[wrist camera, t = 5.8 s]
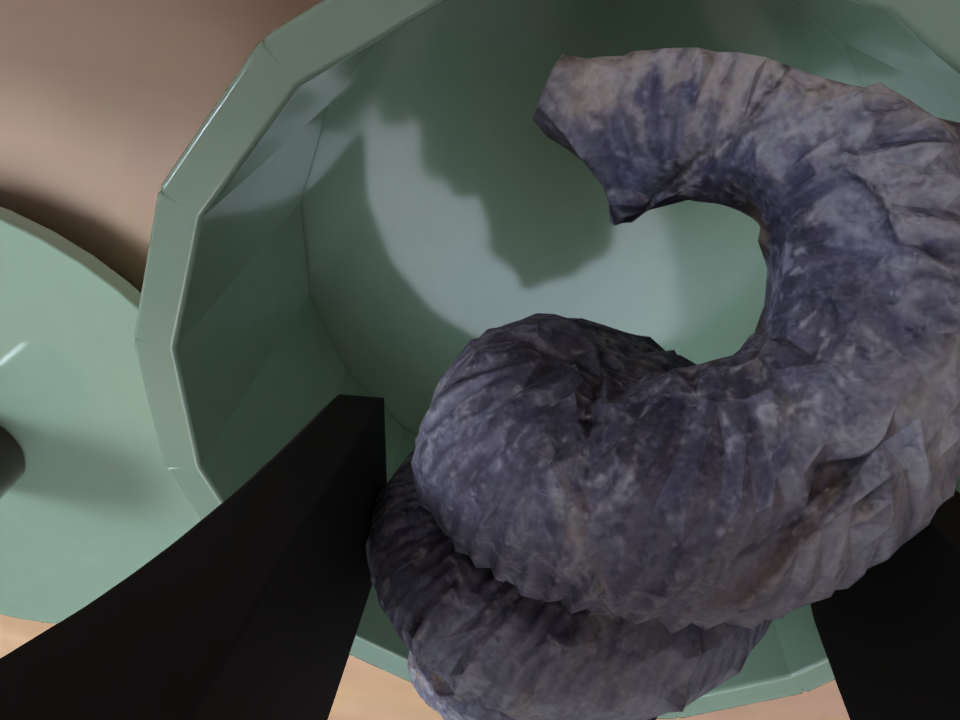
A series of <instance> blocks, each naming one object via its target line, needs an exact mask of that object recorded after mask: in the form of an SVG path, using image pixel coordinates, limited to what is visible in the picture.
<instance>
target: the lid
mask: <svg viewBox="0 0 960 720" xmlns="http://www.w3.org/2000/svg"><path fill="white" fill-rule="evenodd" d="M140 297H141V292H139V291H138V290H137V289H136V288H135V287H134V286H133V285H132V284H131V283H130V282H128V281H127V280H126V279H124V278H123V277H122V276H120V275H119V274H118V273H116V272H115V271H114V270H112V269H111V268H110V267H108V266H107V265H106V264H104V263H103V262H102V261H100V260H99V259H97V258H96V257H95V256H93V255H92V254H90V253H89V252H87V251H85V250H84V249H82V248H80V247H79V246H77V245H76V244H74V243H72V242H71V241H69V240H67V239H66V238H64V237H62V236H61V235H59V234H58V233H56V232H54V231H52V230H50V229H48V228H46V227H44V226H42V225H40V224H38V223H36V222H34V221H32V220H30V219H28V218H26V217H24V216H22V215H20V214H18V213H15V212H13V211H11V210H9V209H6V208H3V207H1V206H0V614H2V615H6V616H11V617H15V618H20V619H25V620H32V621H39V622H46V623H57V624H58V623H59V622H61V621H63V620H64V619H66V618H67V617H69V616H71V615H72V614H74V613H76V612H77V611H79V610H80V609H82V608H84V607H85V606H87V605H88V604H90V603H91V602H93V601H94V600H96V599H97V598H99V597H100V596H101V595H103V594H104V593H106V592H107V591H109V590H110V589H111V588H113V587H114V586H116V585H117V584H119V583H120V582H121V581H123V580H124V579H126V578H127V577H129V576H130V575H131V574H133V573H134V572H136V571H137V570H138V569H140V568H141V567H142V566H144V565H145V564H146V563H148V562H149V561H150V560H152V559H153V558H154V557H156V556H157V555H158V554H160V553H161V552H162V551H164V550H165V549H166V548H168V547H169V546H170V545H171V544H173V543H174V542H175V541H177V540H178V539H179V538H180V537H181V536H183V535H184V534H185V533H186V532H187V531H189V530H190V529H191V528H192V527H194V526H195V525H196V524H197V523H198V522H200V521H201V519H200V518H199V516H198V515H197V513H196V512H195V510H194V509H193V508H192V506H191V505H190V503H189V502H188V500H187V499H186V497H185V496H184V494H183V493H182V491H181V490H180V489H179V487H178V486H177V484H176V483H175V481H174V480H173V478H172V477H171V475H170V474H169V472H168V471H167V467H166V466H165V465H164V462H163V458H162V454H161V450H160V446H159V442H158V437H157V433H156V429H155V425H154V421H153V417H152V413H151V409H150V405H149V401H148V397H147V393H146V389H145V385H144V381H143V377H142V373H141V369H140V365H139V361H138V357H137V353H136V349H135V345H134V341H135V337H134V332H135V326H136V321H137V315H138V309H139V303H140Z"/></svg>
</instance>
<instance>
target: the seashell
mask: <svg viewBox="0 0 960 720" xmlns="http://www.w3.org/2000/svg"><path fill="white" fill-rule="evenodd" d="M532 120H533V121H534V122H535V123H536V124H537V126H538V127H539V128H540V129H541V130H542V131H543V133H544V134H545V135H546V136H547V137H548V138H550V139H551V140H553V141H555V142H556V143H558V144H560V145H561V146H563V147H564V148H566V149H568V150H569V151H570V152H571V153H572V154H573V155H574V156H576V157H577V158H578V159H580V160H581V161H583V162H584V163H585V164H586V166H587V167H588V168H589V170H590V171H591V172H592V173H593V175H594V176H595V177H596V179H597V180H598V181H599V182H600V184H601V185H602V186H603V188H604V191H605V194H606V198H607V201H608V204H609V219H610V222H611V223H612V224H614V225H618V224H621V223H632V222H633V221H635V220H636V219H637V218H639V217H640V216H641V215H643V214H644V213H645V212H647V211H648V210H651V209H656V208H660V207H664V206H667V205H671V204H675V203H679V202H683V201H686V200H691V201H695V202H706V203H716V204H720V205H724V206H727V207H730V208H733V209H735V210H738V211H740V212H742V213H744V214H745V215H747V216H749V217H751V218H752V219H754V220H755V221H756V222H757V223H758V224H759V226H760V232H759V237H758V243H759V246H760V249H761V251H762V254H763V257H764V260H765V263H766V266H767V268H768V269H767V280H766V291H765V302H764V307H763V310H762V312H761V315H760V318H759V321H758V323H757V326H756V329H755V333H753V334H751V335H750V336H749V337H748V339H747V340H746V341H745V343H744V344H743V346H742V347H741V348H740V350H739V351H737V352H736V353H735V354H733V355H732V356H728V357H723V358H719V359H715V360H711V361H708V362H705V363H702V364H698V365H697V364H695V363H694V362H692V361H690V360H688V359H686V358H685V357H683V356H681V355H677V354H676V352H675V350H668V351H665V350H664V349H663V348H662V347H661V346H660V345H659V344H658V343H656V342H655V341H654V340H653V339H652V338H651V337H648V336H640V335H634V334H630V333H627V332H623V331H620V330H617V329H614V328H611V327H608V326H605V325H603V324H599V323H596V322H593V321H589V320H586V319H583V318H566V317H563V316H560V315H556V314H547V313H535V314H533V315H531V316H528V317H526V318H524V319H521V320H519V321H515V322H512V323H509V324H506V325H503V326H501V327H497V328H491V329H487V330H486V331H485V332H484V333H483V334H482V335H481V336H480V337H479V338H477V339H474V340H470V341H469V342H468V344H467V345H466V346H465V348H464V349H463V350H462V351H461V353H460V354H459V355H458V356H457V358H456V359H455V360H454V362H453V363H452V364H451V365H450V367H449V368H448V369H447V370H446V372H445V373H444V374H443V375H442V377H441V378H440V381H439V383H438V385H437V386H436V388H435V390H434V394H433V398H432V401H431V405H430V408H429V410H428V411H427V413H426V415H425V416H424V418H423V420H422V423H421V425H420V429H419V434H418V436H417V437H416V438H415V448H414V449H413V450H412V451H411V452H410V453H409V455H408V456H407V457H406V459H405V460H404V461H403V463H402V464H401V465H400V467H399V468H398V469H397V471H396V472H395V474H394V475H393V476H392V478H391V479H390V481H389V482H388V483H387V485H386V486H385V487H384V488H383V489H382V490H381V491H380V492H379V493H378V495H377V498H376V501H375V505H374V509H373V514H372V520H371V528H370V532H369V535H368V538H367V541H366V544H365V547H366V554H367V562H368V567H369V570H370V574H371V575H370V581H371V582H372V584H373V586H374V588H375V590H376V593H377V599H378V604H379V606H380V608H381V609H382V610H383V611H384V612H385V614H386V615H387V616H388V618H389V620H390V622H391V624H392V626H393V628H394V630H395V632H396V633H397V635H398V636H399V637H400V638H401V640H402V641H403V642H404V643H405V645H406V646H407V648H408V649H409V656H408V663H407V666H408V670H409V674H410V678H411V682H412V684H413V686H414V688H415V690H416V691H417V693H418V694H419V696H420V697H421V698H422V699H423V700H424V701H425V702H426V704H427V705H428V706H429V707H431V708H432V709H433V710H435V711H436V712H438V713H439V714H440V715H441V716H442V717H443V718H444V720H656V718H657V717H658V716H660V715H663V714H666V713H669V712H683V710H684V708H685V706H687V705H689V704H690V703H692V702H694V701H695V700H697V699H698V698H700V697H701V696H703V695H705V694H706V693H708V692H709V691H711V690H713V689H714V688H716V687H718V686H719V685H721V684H722V683H724V682H726V681H727V680H729V679H730V678H732V677H734V676H735V675H737V674H738V673H740V671H741V670H742V668H743V666H744V664H745V662H746V660H747V658H748V656H749V654H750V652H751V651H752V649H753V648H754V647H755V646H756V645H757V644H758V643H759V642H760V640H761V639H762V638H763V637H764V636H765V634H766V632H767V630H768V628H769V626H770V624H771V622H772V620H776V619H778V618H780V617H781V618H783V617H784V615H786V614H788V613H790V612H791V611H792V610H794V609H797V608H800V607H803V606H805V605H808V604H811V603H814V602H817V601H820V600H823V599H826V598H829V597H831V596H832V594H833V593H834V591H835V590H841V589H848V588H849V587H850V586H852V585H853V584H854V583H855V582H856V581H857V580H859V579H860V578H861V577H862V576H863V575H864V574H865V572H866V570H867V569H869V568H871V567H873V566H876V565H878V564H880V563H882V562H885V561H886V560H888V559H889V558H890V557H891V556H892V555H893V554H894V553H895V552H896V551H897V550H898V548H899V547H900V546H902V545H903V544H904V543H906V542H907V541H908V540H910V539H911V538H912V537H914V536H915V535H916V534H918V533H919V532H920V531H921V530H923V529H924V528H925V527H926V526H928V525H929V523H930V521H931V519H932V518H933V516H934V514H935V512H936V510H937V508H938V507H939V506H940V505H942V504H943V503H944V502H945V501H946V500H948V499H949V498H951V497H952V496H954V492H955V487H956V482H957V477H959V476H960V122H955V121H950V120H945V119H941V118H937V117H935V116H933V115H932V114H930V113H929V112H927V111H926V110H924V109H923V108H921V107H920V106H918V105H917V104H915V103H914V102H912V101H911V100H909V99H908V98H906V97H904V96H903V95H901V94H899V93H897V92H896V91H894V90H892V89H890V88H889V87H887V86H885V85H883V84H881V83H880V82H878V83H875V84H872V85H869V86H866V87H860V86H853V85H849V84H845V83H842V82H838V81H834V80H830V79H826V78H823V77H820V76H817V75H814V74H811V73H808V72H805V71H802V70H799V69H796V68H794V67H791V66H788V65H786V64H783V63H781V62H778V61H775V60H772V59H770V58H767V57H761V56H756V55H751V54H745V53H740V52H715V51H711V50H706V49H702V48H698V47H690V48H661V49H650V50H640V51H631V52H630V53H628V54H626V55H624V56H603V57H593V58H581V57H576V56H571V55H566V54H562V55H561V57H560V58H559V60H558V61H557V62H556V64H555V65H554V67H553V69H552V71H551V74H550V76H549V78H548V81H547V83H546V86H545V88H544V90H543V93H542V95H541V98H540V101H539V103H538V106H537V108H536V111H535V113H534V116H533V118H532Z"/></svg>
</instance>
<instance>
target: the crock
mask: <svg viewBox="0 0 960 720" xmlns="http://www.w3.org/2000/svg"><path fill="white" fill-rule="evenodd" d="M690 47H698V48H702V49H706V50H711V51H715V52H740V53H745V54H751V55H756V56H761V57H767V58H770V59H772V60H775V61H778V62H781V63H783V64H786V65H788V66H791V67H794V68H796V69H799V70H802V71H805V72H808V73H811V74H814V75H817V76H820V77H823V78H826V79H830V80H834V81H838V82H842V83H845V84H849V85H853V86H860V87H866V86H869V85H872V84H875V83H878V82H880V83H881V84H883V85H885V86H887V87H889V88H890V89H892V90H894V91H896V92H897V93H899V94H901V95H903V96H904V97H906V98H908V99H909V100H911V101H912V102H914V103H915V104H917V105H918V106H920V107H921V108H923V109H924V110H926V111H927V112H929V113H930V114H932V115H933V116H935V117H937V118H941V119H945V120H950V121H955V122H960V0H322V1H320V2H319V3H317V4H315V5H314V6H312V7H311V8H309V9H307V10H306V11H304V12H303V13H301V14H299V15H298V16H296V17H295V18H293V19H291V20H290V21H288V22H286V23H285V24H283V25H282V26H280V27H278V28H277V29H275V30H274V31H272V32H270V33H269V34H267V35H266V37H265V39H264V40H263V41H261V42H259V43H258V44H257V45H256V47H255V48H254V50H253V51H252V53H251V54H250V55H249V57H248V58H247V60H246V61H245V63H244V64H243V66H242V67H241V69H240V70H239V72H238V73H237V75H236V76H235V77H234V79H233V80H232V82H231V83H230V85H229V86H228V88H227V89H226V91H225V92H224V94H223V95H222V96H221V98H220V99H219V101H218V102H217V104H216V105H215V107H214V108H213V110H212V111H211V113H210V114H209V116H208V117H207V118H206V120H205V121H204V123H203V124H202V126H201V127H200V129H199V130H198V132H197V133H196V135H195V136H194V138H193V139H192V140H191V142H190V143H189V145H188V146H187V148H186V149H185V151H184V152H183V154H182V155H181V157H180V158H179V160H178V161H177V162H176V164H175V165H174V167H173V168H172V170H171V171H170V173H169V174H168V176H167V177H166V179H165V180H164V182H163V183H162V185H161V191H160V192H159V193H158V196H157V202H156V208H155V214H154V220H153V226H152V232H151V238H150V244H149V249H148V255H147V261H146V267H145V273H144V279H143V285H142V291H141V297H140V303H139V309H138V315H137V321H136V326H135V332H134V337H135V341H134V345H135V349H136V353H137V357H138V361H139V365H140V369H141V373H142V377H143V381H144V385H145V389H146V393H147V397H148V401H149V405H150V409H151V413H152V417H153V421H154V425H155V429H156V433H157V437H158V442H159V446H160V450H161V454H162V458H163V462H164V465H165V466H166V467H167V471H168V472H169V474H170V475H171V477H172V478H173V480H174V481H175V483H176V484H177V486H178V487H179V489H180V490H181V491H182V493H183V494H184V496H185V497H186V499H187V500H188V502H189V503H190V505H191V506H192V508H193V509H194V510H195V512H196V513H197V515H198V516H199V518H200V519H201V520H202V519H203V518H204V517H206V516H207V515H208V514H209V513H211V512H212V511H213V510H214V509H215V508H217V507H218V506H219V505H220V504H221V503H223V502H224V501H225V500H226V499H227V498H229V497H230V496H231V495H232V494H233V493H234V492H235V491H237V490H238V489H239V488H240V487H241V486H242V485H243V484H244V483H245V482H246V481H247V480H249V479H250V478H251V477H252V476H253V475H254V474H255V473H256V472H257V471H258V470H260V469H261V468H262V467H263V466H264V465H265V464H266V463H267V462H268V461H269V460H270V459H272V458H273V457H274V456H275V455H276V454H277V453H278V452H279V451H280V450H281V449H282V448H283V447H284V446H285V445H286V444H287V443H288V442H289V441H290V440H292V439H293V438H294V437H295V436H296V435H297V434H298V433H299V432H300V431H301V430H302V429H303V428H304V427H305V426H306V425H307V424H308V423H309V422H310V421H311V420H312V419H313V418H314V417H315V416H316V415H317V414H318V413H319V412H320V411H321V410H322V409H323V408H324V407H325V406H326V405H327V404H328V403H329V402H330V401H331V400H333V399H334V398H335V397H336V396H337V395H339V394H345V395H356V396H368V397H380V398H384V410H385V439H386V467H387V483H388V482H389V481H390V479H391V478H392V476H393V475H394V474H395V472H396V471H397V469H398V468H399V467H400V465H401V464H402V463H403V461H404V460H405V459H406V457H407V456H408V455H409V453H410V452H411V451H412V450H413V449H414V448H415V438H416V437H417V436H418V434H419V429H420V425H421V423H422V420H423V418H424V416H425V415H426V413H427V411H428V410H429V408H430V405H431V401H432V398H433V394H434V390H435V388H436V386H437V385H438V383H439V381H440V378H441V377H442V375H443V374H444V373H445V372H446V370H447V369H448V368H449V367H450V365H451V364H452V363H453V362H454V360H455V359H456V358H457V356H458V355H459V354H460V353H461V351H462V350H463V349H464V348H465V346H466V345H467V344H468V342H469V341H470V340H474V339H477V338H479V337H480V336H481V335H482V334H483V333H484V332H485V331H486V330H487V329H491V328H497V327H501V326H503V325H506V324H509V323H512V322H515V321H519V320H521V319H524V318H526V317H528V316H531V315H533V314H535V313H547V314H556V315H560V316H563V317H566V318H583V319H586V320H589V321H593V322H596V323H599V324H603V325H605V326H608V327H611V328H614V329H617V330H620V331H623V332H627V333H630V334H634V335H640V336H648V337H651V338H652V339H653V340H654V341H655V342H656V343H658V344H659V345H660V346H661V347H662V348H663V349H664V350H665V351H668V350H675V352H676V354H677V355H681V356H683V357H685V358H686V359H688V360H690V361H692V362H694V363H695V364H697V365H698V364H702V363H705V362H708V361H711V360H715V359H719V358H723V357H728V356H732V355H733V354H735V353H736V352H737V351H739V350H740V348H741V347H742V346H743V344H744V343H745V341H746V340H747V339H748V337H749V336H750V335H751V334H753V333H755V329H756V326H757V323H758V321H759V318H760V315H761V312H762V310H763V307H764V302H765V291H766V280H767V269H768V268H767V266H766V263H765V260H764V257H763V254H762V251H761V249H760V246H759V243H758V237H759V232H760V226H759V224H758V223H757V222H756V221H755V220H754V219H752V218H751V217H749V216H747V215H745V214H744V213H742V212H740V211H738V210H735V209H733V208H730V207H727V206H724V205H720V204H716V203H706V202H695V201H691V200H686V201H683V202H679V203H675V204H671V205H667V206H664V207H660V208H656V209H651V210H648V211H647V212H645V213H644V214H643V215H641V216H640V217H639V218H637V219H636V220H635V221H633V222H632V223H621V224H618V225H614V224H612V223H611V222H610V219H609V204H608V201H607V198H606V194H605V191H604V188H603V186H602V185H601V184H600V182H599V181H598V180H597V179H596V177H595V176H594V175H593V173H592V172H591V171H590V170H589V168H588V167H587V166H586V164H585V163H584V162H583V161H581V160H580V159H578V158H577V157H576V156H574V155H573V154H572V153H571V152H570V151H569V150H568V149H566V148H564V147H563V146H561V145H560V144H558V143H556V142H555V141H553V140H551V139H550V138H548V137H547V136H546V135H545V134H544V133H543V131H542V130H541V129H540V128H539V127H538V126H537V124H536V123H535V122H534V121H533V120H532V118H533V116H534V113H535V111H536V108H537V106H538V103H539V101H540V98H541V95H542V93H543V90H544V88H545V86H546V83H547V81H548V78H549V76H550V74H551V71H552V69H553V67H554V65H555V64H556V62H557V61H558V60H559V58H560V57H561V55H562V54H566V55H571V56H576V57H581V58H593V57H603V56H624V55H626V54H628V53H630V52H631V51H640V50H650V49H661V48H690ZM955 490H956V491H958V492H959V493H960V476H959V477H957V482H956V487H955ZM349 655H352V656H354V657H356V658H358V659H360V660H363V661H365V662H367V663H369V664H371V665H374V666H376V667H378V668H380V669H382V670H385V671H387V672H389V673H391V674H393V675H396V676H398V677H400V678H402V679H404V680H407V681H409V682H411V678H410V674H409V670H408V666H407V663H408V656H409V649H408V648H407V646H406V645H405V643H404V642H403V641H402V640H401V638H400V637H399V636H398V635H397V633H396V632H395V630H394V628H393V626H392V624H391V622H390V620H389V618H388V616H387V615H386V614H385V612H384V611H383V610H382V609H381V608H380V606H379V604H378V599H377V593H376V590H375V588H374V586H373V584H372V587H371V590H370V593H369V596H368V599H367V602H366V605H365V608H364V611H363V614H362V617H361V620H360V623H359V626H358V629H357V633H356V636H355V639H354V642H353V644H352V647H351V650H350V653H349ZM833 680H835V677H834V674H833V672H832V669H831V666H830V663H829V661H828V658H827V655H826V653H825V650H824V647H823V644H822V642H821V639H820V636H819V633H818V630H817V627H816V625H815V622H814V618H813V613H812V609H811V605H810V604H808V605H805V606H803V607H800V608H797V609H794V610H792V611H791V612H790V613H788V614H786V615H784V617H783V618H781V617H780V618H778V619H776V620H772V622H771V624H770V626H769V628H768V630H767V632H766V634H765V636H764V637H763V638H762V639H761V640H760V642H759V643H758V644H757V645H756V646H755V647H754V648H753V649H752V651H751V652H750V654H749V656H748V658H747V660H746V662H745V664H744V666H743V668H742V670H741V671H740V673H738V674H737V675H735V676H734V677H732V678H730V679H729V680H727V681H726V682H724V683H722V684H721V685H719V686H718V687H716V688H714V689H713V690H711V691H709V692H708V693H706V694H705V695H703V696H701V697H700V698H698V699H697V700H695V701H694V702H692V703H690V704H689V705H687V706H685V708H684V710H683V712H669V713H666V714H663V715H660V716H658V717H657V718H656V719H675V718H677V717H679V718H685V717H690V716H695V715H700V714H704V713H709V712H714V711H719V710H724V709H729V708H734V707H739V706H744V705H748V704H753V703H758V702H763V701H768V700H773V699H778V698H783V697H788V696H793V695H797V694H802V693H803V691H806V692H807V691H811V690H813V689H815V688H817V687H820V686H822V685H824V684H826V683H828V682H831V681H833ZM411 683H412V682H411Z"/></svg>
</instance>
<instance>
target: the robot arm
mask: <svg viewBox="0 0 960 720" xmlns="http://www.w3.org/2000/svg"><path fill="white" fill-rule="evenodd" d="M386 485H387V467H386V439H385V410H384V398H380V397H368V396H356V395H345V394H339V395H337V396H336V397H335V398H334V399H333V400H331V401H330V402H329V403H328V404H327V405H326V406H325V407H324V408H323V409H322V410H321V411H320V412H319V413H318V414H317V415H316V416H315V417H314V418H313V419H312V420H311V421H310V422H309V423H308V424H307V425H306V426H305V427H304V428H303V429H302V430H301V431H300V432H299V433H298V434H297V435H296V436H295V437H294V438H293V439H292V440H290V441H289V442H288V443H287V444H286V445H285V446H284V447H283V448H282V449H281V450H280V451H279V452H278V453H277V454H276V455H275V456H274V457H273V458H272V459H270V460H269V461H268V462H267V463H266V464H265V465H264V466H263V467H262V468H261V469H260V470H258V471H257V472H256V473H255V474H254V475H253V476H252V477H251V478H250V479H249V480H247V481H246V482H245V483H244V484H243V485H242V486H241V487H240V488H239V489H238V490H237V491H235V492H234V493H233V494H232V495H231V496H230V497H229V498H227V499H226V500H225V501H224V502H223V503H221V504H220V505H219V506H218V507H217V508H215V509H214V510H213V511H212V512H211V513H209V514H208V515H207V516H206V517H204V518H203V519H202V520H201V521H200V522H198V523H197V524H196V525H195V526H194V527H192V528H191V529H190V530H189V531H187V532H186V533H185V534H184V535H183V536H181V537H180V538H179V539H178V540H177V541H175V542H174V543H173V544H171V545H170V546H169V547H168V548H166V549H165V550H164V551H162V552H161V553H160V554H158V555H157V556H156V557H154V558H153V559H152V560H150V561H149V562H148V563H146V564H145V565H144V566H142V567H141V568H140V569H138V570H137V571H136V572H134V573H133V574H131V575H130V576H129V577H127V578H126V579H124V580H123V581H121V582H120V583H119V584H117V585H116V586H114V587H113V588H111V589H110V590H109V591H107V592H106V593H104V594H103V595H101V596H100V597H99V598H97V599H96V600H94V601H93V602H91V603H90V604H88V605H87V606H85V607H84V608H82V609H80V610H79V611H77V612H76V613H74V614H72V615H71V616H69V617H67V618H66V619H64V620H63V621H61V622H59V623H58V624H56V625H54V626H53V627H51V628H50V629H48V630H46V631H45V632H43V633H41V634H40V635H38V636H37V637H35V638H33V639H32V640H30V641H28V642H27V643H25V644H24V645H22V646H20V647H19V648H17V649H15V650H14V651H12V652H11V653H9V654H7V655H6V656H4V657H2V658H1V659H0V720H327V719H328V716H329V713H330V710H331V707H332V704H333V701H334V698H335V695H336V692H337V689H338V686H339V683H340V680H341V677H342V674H343V671H344V668H345V665H346V662H347V659H348V656H349V653H350V650H351V647H352V644H353V642H354V639H355V636H356V633H357V629H358V626H359V623H360V620H361V617H362V614H363V611H364V608H365V605H366V602H367V599H368V596H369V593H370V590H371V587H372V582H371V581H370V575H371V574H370V570H369V567H368V562H367V554H366V547H365V544H366V541H367V538H368V535H369V532H370V528H371V520H372V514H373V509H374V505H375V501H376V498H377V495H378V493H379V492H380V491H381V490H382V489H383V488H384V487H385V486H386ZM810 605H811V609H812V613H813V618H814V622H815V625H816V627H817V630H818V633H819V636H820V639H821V642H822V644H823V647H824V650H825V653H826V655H827V658H828V661H829V663H830V666H831V669H832V672H833V674H834V677H835V680H836V683H837V685H838V688H839V691H840V693H841V696H842V699H843V701H844V704H845V707H846V709H847V712H848V715H849V717H850V720H960V493H959V492H958V491H956V490H955V492H954V496H952V497H951V498H949V499H948V500H946V501H945V502H944V503H943V504H942V505H940V506H939V507H938V508H937V510H936V512H935V514H934V516H933V518H932V519H931V521H930V523H929V525H928V526H926V527H925V528H924V529H923V530H921V531H920V532H919V533H918V534H916V535H915V536H914V537H912V538H911V539H910V540H908V541H907V542H906V543H904V544H903V545H902V546H900V547H899V548H898V550H897V551H896V552H895V553H894V554H893V555H892V556H891V557H890V558H889V559H888V560H886V561H885V562H882V563H880V564H878V565H876V566H873V567H871V568H869V569H867V570H866V572H865V574H864V575H863V576H862V577H861V578H860V579H859V580H857V581H856V582H855V583H854V584H853V585H852V586H850V587H849V588H848V589H841V590H835V591H834V593H833V594H832V596H831V597H829V598H826V599H823V600H820V601H817V602H814V603H811V604H810Z"/></svg>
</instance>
